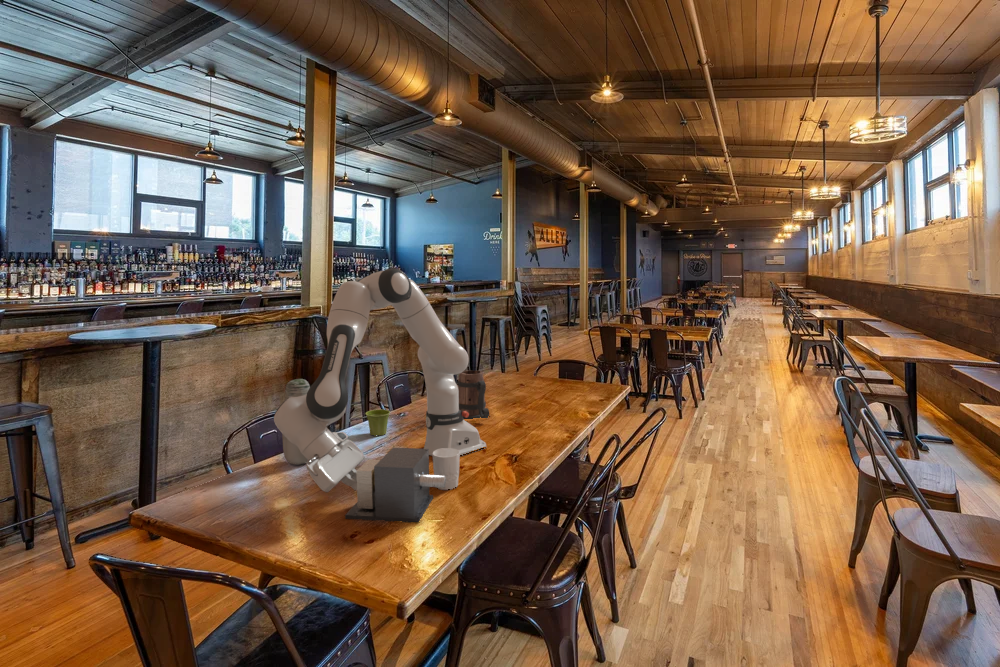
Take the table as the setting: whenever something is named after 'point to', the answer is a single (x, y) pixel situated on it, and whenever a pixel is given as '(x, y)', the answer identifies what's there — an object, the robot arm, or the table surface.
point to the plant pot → (378, 421)
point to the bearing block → (398, 487)
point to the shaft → (368, 483)
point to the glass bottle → (289, 449)
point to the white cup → (447, 466)
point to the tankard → (472, 394)
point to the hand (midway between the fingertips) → (359, 486)
